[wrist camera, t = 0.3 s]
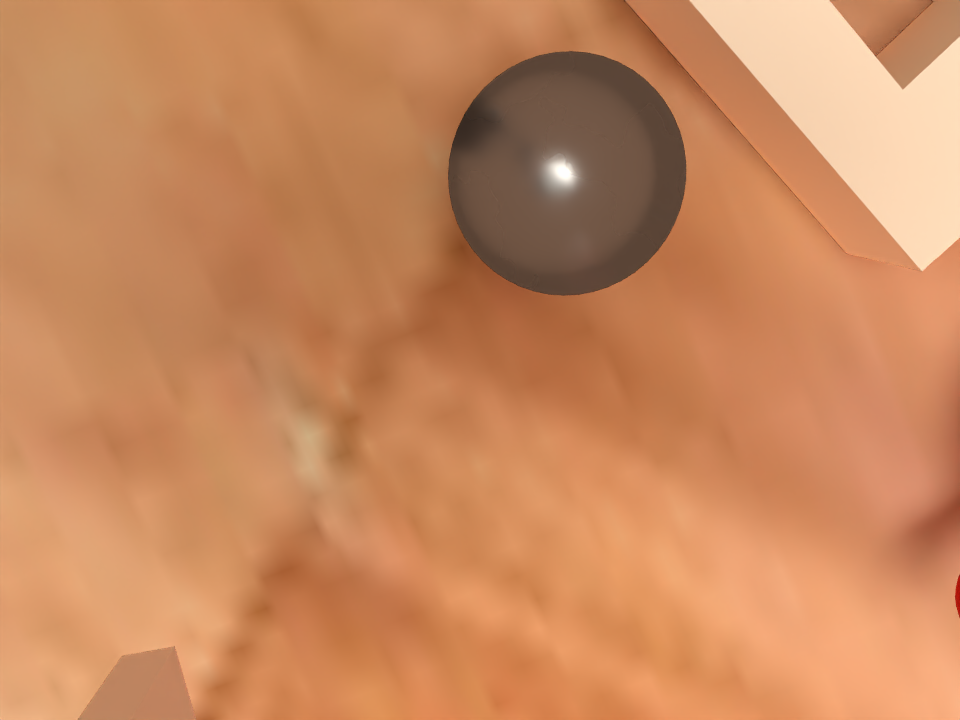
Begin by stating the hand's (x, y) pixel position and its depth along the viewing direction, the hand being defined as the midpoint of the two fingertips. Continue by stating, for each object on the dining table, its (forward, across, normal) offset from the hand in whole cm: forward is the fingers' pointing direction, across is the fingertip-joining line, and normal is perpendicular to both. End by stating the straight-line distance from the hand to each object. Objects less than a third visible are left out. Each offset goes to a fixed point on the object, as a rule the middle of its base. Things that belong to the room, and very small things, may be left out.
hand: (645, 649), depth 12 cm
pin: (+25, +2, +6) cm, 26 cm away
